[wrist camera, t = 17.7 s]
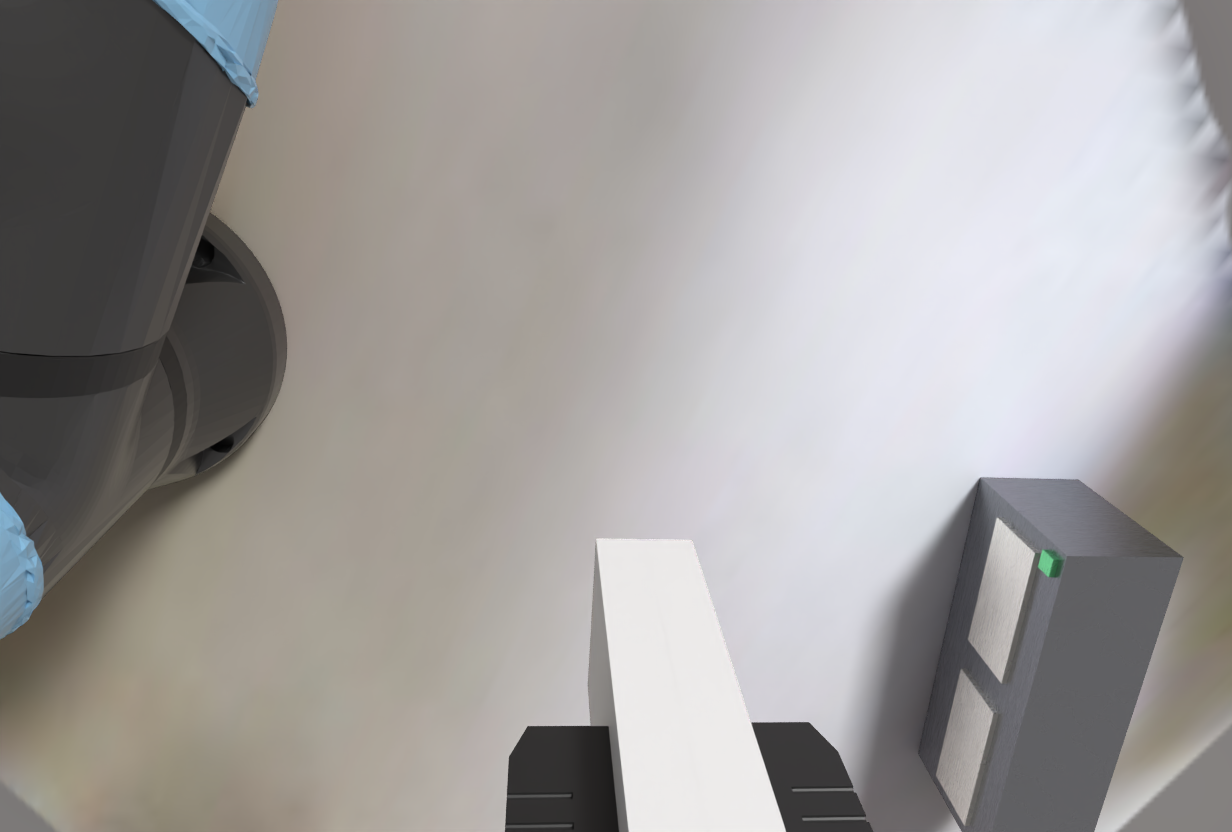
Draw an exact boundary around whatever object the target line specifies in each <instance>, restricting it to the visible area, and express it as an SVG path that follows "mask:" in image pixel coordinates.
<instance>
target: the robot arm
mask: <svg viewBox="0 0 1232 832" xmlns="http://www.w3.org/2000/svg"><path fill="white" fill-rule="evenodd" d="M277 3H278V0H0V639H2V638H4V637H5V636H6V635H8V634H10V633H13V632H14V631H15V630H16V629H17V628H18V627H20V626H22V625H23V624H24V623H25V622H27V621H28V620H29V618H30V616H31V614H32V612H33V610H34V609H35V608H36V607H37V605H38V604H40V601H41V599H42V598H43V597H44V596H45V595H46V594H47V593H48V592H49V591H50V590H51V589H52V588H53V587H54V586H55V585H56V584H57V583H58V582H59V581H60V580H61V578H62V577H63V576H64V575H65V574H66V573H67V572H68V571H69V570H70V569H71V568H72V567H73V566H74V565H75V564H76V563H77V562H78V561H79V560H80V559H81V558H82V557H83V556H84V555H85V554H86V553H87V552H88V551H89V549H90V548H91V547H92V546H93V545H94V544H95V543H96V542H97V541H98V540H99V539H100V538H101V537H102V536H103V535H104V534H105V533H106V532H107V531H108V530H109V529H110V528H111V527H112V526H113V525H114V524H115V523H116V522H117V520H118V519H119V518H120V517H121V516H122V515H123V514H124V513H125V512H126V511H127V510H128V509H129V508H130V507H131V506H132V505H133V504H134V503H135V502H136V501H137V500H138V499H139V498H140V497H141V496H142V495H143V494H144V492H145V491H146V490H149V489H153V488H156V487H160V486H163V485H167V484H170V483H174V482H178V481H181V480H184V479H188V478H190V477H193V476H196V475H198V474H200V473H202V472H204V471H206V470H208V469H210V468H212V467H214V466H215V465H217V464H219V463H220V462H222V461H223V460H224V459H226V458H227V457H229V456H230V455H231V454H232V453H234V452H235V451H236V450H237V449H238V448H239V447H240V446H241V445H242V444H244V442H245V441H246V440H247V439H248V438H249V437H250V436H251V434H252V433H253V432H254V431H255V430H256V429H257V427H258V426H259V425H260V424H261V423H262V421H263V420H264V419H265V417H266V416H267V414H268V413H269V411H270V409H271V408H272V406H273V404H274V402H275V400H276V398H277V396H278V393H279V391H280V388H281V385H282V381H283V377H284V373H285V367H286V359H287V337H286V328H285V323H284V318H283V314H282V310H281V306H280V303H279V301H278V298H277V295H276V293H275V290H274V288H273V286H272V284H271V282H270V280H269V278H268V276H267V274H266V272H265V271H264V269H263V268H262V266H261V264H260V263H259V261H258V260H257V259H256V257H255V256H254V254H253V253H252V252H251V251H250V249H249V248H248V247H247V246H246V244H245V243H244V242H243V241H242V240H241V239H240V238H239V237H238V236H237V235H236V234H235V233H234V232H233V231H232V230H231V229H230V228H229V227H228V226H227V225H225V224H224V223H223V222H222V221H221V220H219V219H218V218H217V217H216V216H214V215H213V214H211V213H210V210H211V207H212V204H213V201H214V198H215V195H216V192H217V189H218V186H219V183H220V180H221V178H222V175H223V172H224V169H225V166H226V163H227V160H228V157H229V154H230V151H231V148H232V145H233V143H234V140H235V137H236V134H237V131H238V128H239V125H240V122H241V119H242V116H243V113H244V110H245V108H246V107H249V108H253V107H254V106H255V105H256V102H257V100H258V88H257V85H256V82H255V80H256V77H257V73H258V70H259V66H260V63H261V60H262V56H263V53H264V49H265V46H266V43H267V39H268V36H269V32H270V29H271V26H272V22H273V19H274V15H275V12H276V8H277ZM588 695H589V709H590V723H591V726H528V727H527V728H526V730H525V732H524V733H523V735H522V737H521V738H520V740H519V742H518V743H517V745H516V746H515V748H514V750H513V751H512V753H511V755H510V756H509V768H508V786H507V805H506V823H505V832H873V830H872V828H871V826H870V824H869V822H866V818H865V816H866V815H865V812H864V810H863V808H862V805H861V803H860V801H859V799H858V796H857V794H856V793H854V792H853V785H852V783H851V780H850V778H849V776H848V774H847V771H846V769H845V767H844V764H843V762H842V760H841V758H840V755H839V753H838V751H837V750H836V749H835V748H834V747H833V746H832V745H831V744H830V743H829V742H828V741H827V740H826V739H825V738H824V737H823V736H822V735H821V734H820V733H819V732H818V731H817V730H816V729H815V728H814V727H813V726H812V725H811V724H810V723H809V722H773V723H751V721H750V718H749V715H748V712H747V709H746V706H745V702H744V699H743V696H742V693H741V690H740V687H739V684H738V681H737V678H736V675H735V671H734V668H733V665H732V662H731V659H730V656H729V653H728V650H727V647H726V644H725V640H724V637H723V634H722V631H721V628H720V625H719V622H718V619H717V616H716V613H715V609H714V606H713V603H712V600H711V597H710V594H709V591H708V588H707V585H706V582H705V578H704V575H703V572H702V569H701V566H700V563H699V560H698V557H697V554H696V551H695V547H694V544H693V541H692V540H662V539H596V548H595V566H594V584H593V601H592V619H591V637H590V654H589V672H588Z"/></svg>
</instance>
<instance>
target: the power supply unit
mask: <svg viewBox="0 0 1232 832" xmlns="http://www.w3.org/2000/svg"><path fill="white" fill-rule="evenodd" d="M1183 558H1184V557H1182V556H1181V555H1180V554H1178V553H1177V552H1176V551H1174V550H1173V549H1171V548H1170V547H1169V546H1167V545H1166V544H1165V543H1163V542H1162V541H1161V540H1159V539H1158V538H1157V537H1155V536H1154V535H1153V534H1151V533H1150V532H1148V531H1147V530H1146V529H1144V528H1143V527H1142V526H1140V525H1139V524H1138V523H1136V522H1135V521H1134V520H1132V519H1131V518H1130V517H1128V516H1127V515H1125V514H1124V513H1123V512H1121V511H1120V510H1119V509H1117V508H1116V507H1115V506H1113V505H1112V504H1111V503H1109V502H1108V501H1107V500H1105V499H1104V498H1102V497H1101V496H1100V495H1098V494H1097V493H1096V492H1094V491H1093V490H1092V489H1090V488H1089V487H1088V486H1086V485H1085V484H1084V483H1082V482H1081V481H1079V480H1066V479H1021V478H980V482H979V486H978V491H977V495H976V499H975V504H974V508H973V513H972V517H971V522H970V526H969V531H968V535H967V539H966V544H965V548H964V553H963V557H962V562H961V566H960V570H959V575H958V579H957V584H956V588H955V593H954V597H953V602H952V606H951V610H950V615H949V619H948V624H947V628H946V633H945V637H944V642H943V646H942V650H941V655H940V659H939V664H938V668H937V673H936V677H935V682H934V686H933V690H932V695H931V699H930V704H929V708H928V713H927V717H926V722H925V726H924V730H923V735H922V739H921V744H920V748H919V753H918V754H919V756H920V757H921V759H922V761H923V763H924V765H925V766H926V768H927V770H928V772H929V774H930V775H931V777H932V779H933V781H934V783H935V784H936V786H937V788H938V790H939V792H940V793H941V795H942V797H943V799H944V800H945V802H946V804H947V806H948V808H949V809H950V811H951V813H952V815H953V817H954V818H955V820H956V822H957V824H958V826H959V827H960V829H961V831H962V832H1094V830H1095V827H1096V824H1097V821H1098V818H1099V815H1100V812H1101V809H1102V806H1103V803H1104V800H1105V797H1106V794H1107V791H1108V788H1109V785H1110V781H1111V778H1112V775H1113V772H1114V769H1115V766H1116V763H1117V760H1118V757H1119V754H1120V751H1121V748H1122V745H1123V742H1124V739H1125V736H1126V732H1127V729H1128V726H1129V723H1130V720H1131V717H1132V714H1133V711H1134V708H1135V705H1136V702H1137V699H1138V696H1139V693H1140V690H1141V687H1142V684H1143V680H1144V677H1145V674H1146V671H1147V668H1148V665H1149V662H1150V659H1151V656H1152V653H1153V650H1154V647H1155V644H1156V641H1157V638H1158V635H1159V631H1160V628H1161V625H1162V622H1163V619H1164V616H1165V613H1166V610H1167V607H1168V604H1169V601H1170V598H1171V595H1172V592H1173V589H1174V586H1175V582H1176V579H1177V576H1178V573H1179V570H1180V567H1181V564H1182V561H1183Z"/></svg>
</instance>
